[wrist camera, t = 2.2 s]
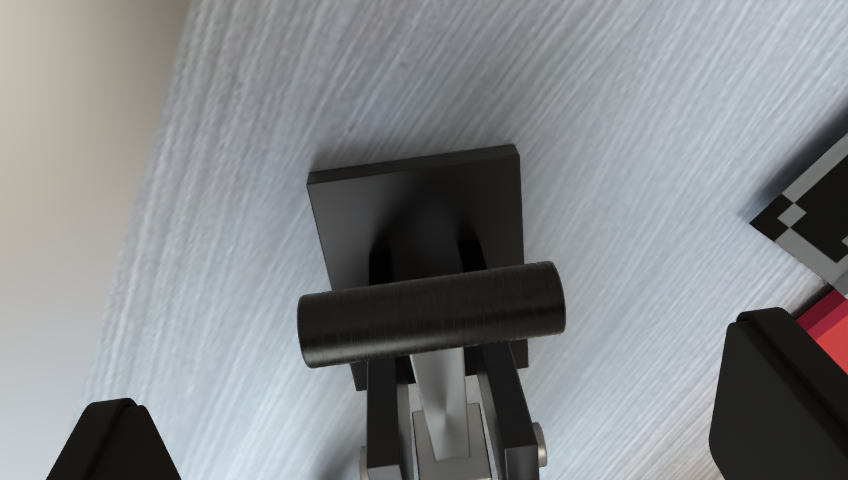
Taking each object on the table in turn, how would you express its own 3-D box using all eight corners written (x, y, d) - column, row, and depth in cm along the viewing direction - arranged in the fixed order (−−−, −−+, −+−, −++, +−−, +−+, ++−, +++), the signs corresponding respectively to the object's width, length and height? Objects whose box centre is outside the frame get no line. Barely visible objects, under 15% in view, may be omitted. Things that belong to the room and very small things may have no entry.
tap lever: (296, 261, 12) (295, 374, 11) (546, 226, 12) (577, 335, 11) (380, 442, 22) (385, 514, 21) (518, 423, 22) (532, 493, 21)
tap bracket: (308, 172, 27) (262, 380, 16) (514, 143, 27) (613, 332, 16) (357, 375, 33) (348, 627, 22) (523, 352, 33) (599, 592, 22)
